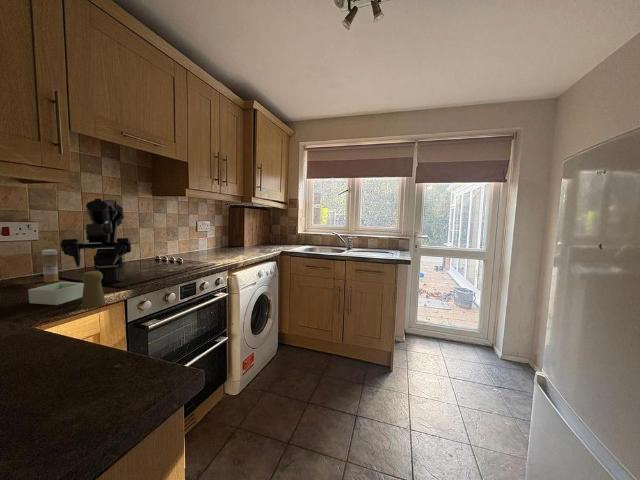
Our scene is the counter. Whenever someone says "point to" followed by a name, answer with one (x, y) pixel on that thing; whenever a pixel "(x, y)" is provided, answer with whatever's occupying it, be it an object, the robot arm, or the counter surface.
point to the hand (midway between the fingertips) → (95, 265)
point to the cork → (92, 290)
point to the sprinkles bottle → (50, 265)
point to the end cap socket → (56, 293)
